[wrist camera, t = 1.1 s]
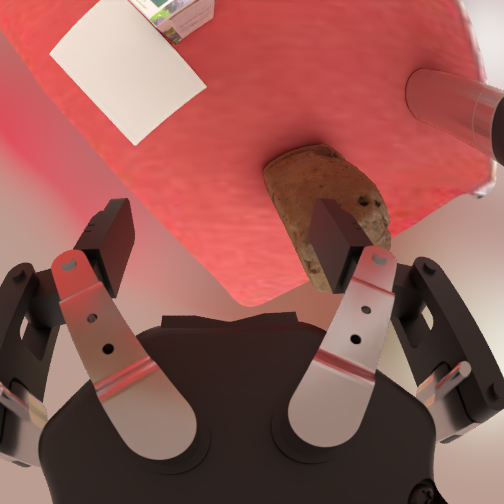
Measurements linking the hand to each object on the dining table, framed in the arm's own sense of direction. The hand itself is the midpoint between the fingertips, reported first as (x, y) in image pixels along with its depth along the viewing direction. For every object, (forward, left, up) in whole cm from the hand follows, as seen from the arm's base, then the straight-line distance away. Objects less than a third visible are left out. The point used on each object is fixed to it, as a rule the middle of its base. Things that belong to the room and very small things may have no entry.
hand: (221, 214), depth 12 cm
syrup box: (-5, -14, -26) cm, 30 cm away
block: (-5, +13, -26) cm, 30 cm away
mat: (+5, -14, -26) cm, 30 cm away
